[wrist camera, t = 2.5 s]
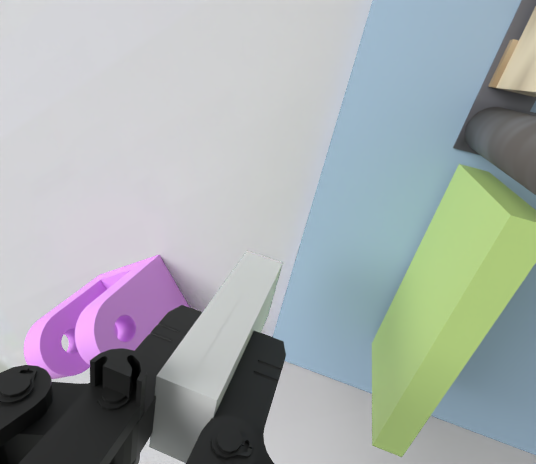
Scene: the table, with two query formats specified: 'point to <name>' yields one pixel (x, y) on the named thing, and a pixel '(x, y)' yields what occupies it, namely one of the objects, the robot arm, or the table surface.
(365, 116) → the board
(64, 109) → the table surface
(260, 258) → the robot arm
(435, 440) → the table surface
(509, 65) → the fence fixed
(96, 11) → the table surface
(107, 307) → the bracket
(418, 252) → the fence panel
